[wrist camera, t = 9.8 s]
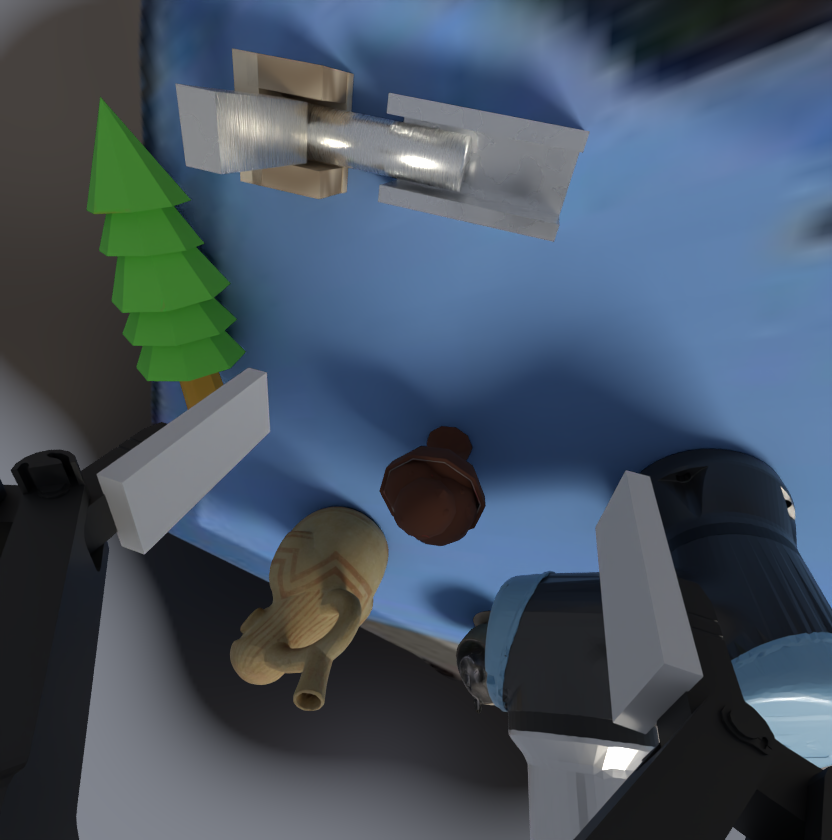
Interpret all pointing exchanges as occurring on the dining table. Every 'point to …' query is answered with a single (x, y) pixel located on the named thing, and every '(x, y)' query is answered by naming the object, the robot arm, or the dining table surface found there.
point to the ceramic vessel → (313, 602)
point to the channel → (494, 169)
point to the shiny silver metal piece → (312, 138)
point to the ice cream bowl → (435, 489)
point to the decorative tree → (158, 266)
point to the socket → (300, 85)
